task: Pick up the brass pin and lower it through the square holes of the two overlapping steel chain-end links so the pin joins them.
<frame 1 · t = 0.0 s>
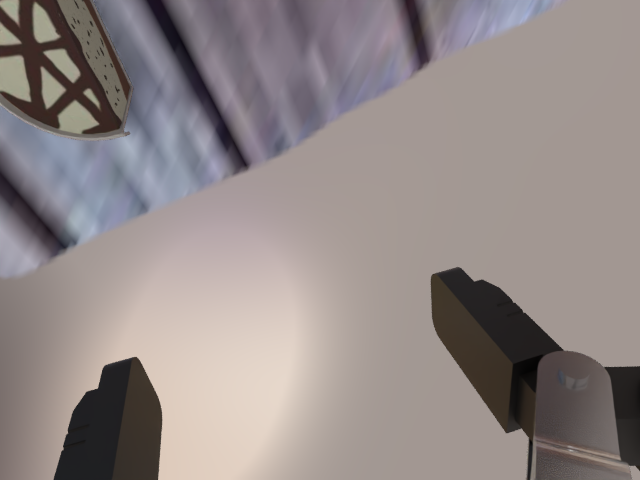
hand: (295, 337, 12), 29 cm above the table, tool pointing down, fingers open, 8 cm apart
food container: (61, 35, 33), on the table
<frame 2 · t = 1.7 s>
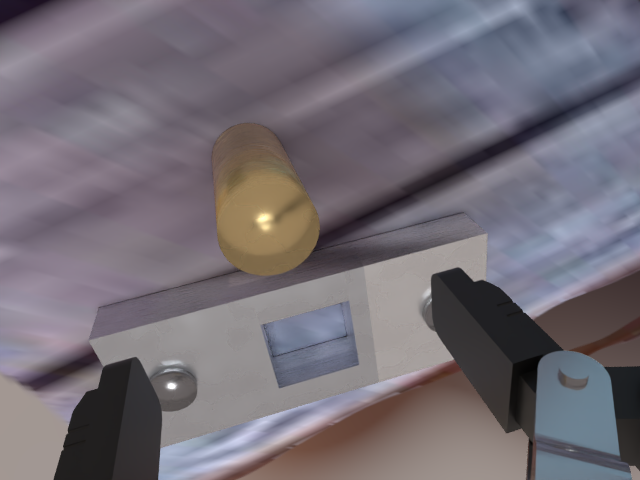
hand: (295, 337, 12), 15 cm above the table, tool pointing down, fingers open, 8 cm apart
chain ends: (303, 317, 32), on the table
brass pin: (248, 158, 25), on the table
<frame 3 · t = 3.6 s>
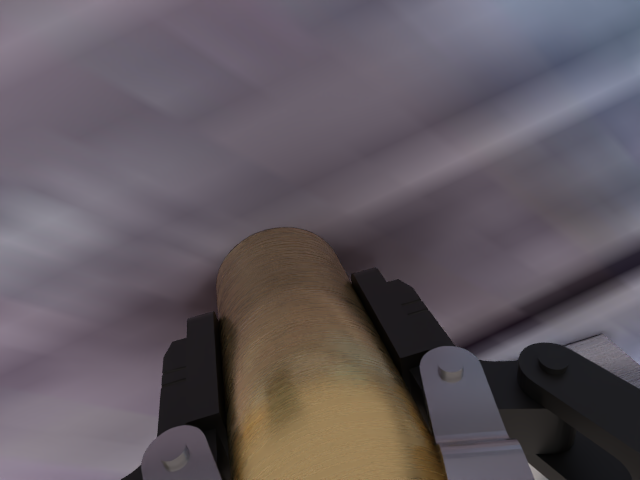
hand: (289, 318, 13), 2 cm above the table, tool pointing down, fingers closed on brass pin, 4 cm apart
brass pin: (280, 283, 15), on the table, touching gripper
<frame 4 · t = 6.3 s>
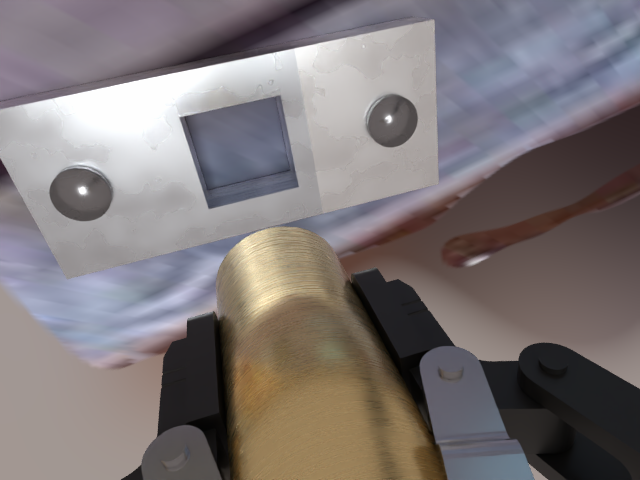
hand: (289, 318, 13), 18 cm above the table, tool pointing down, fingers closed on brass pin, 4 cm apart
chain ends: (238, 139, 29), on the table
brass pin: (280, 282, 14), point 17 cm above the table, touching gripper
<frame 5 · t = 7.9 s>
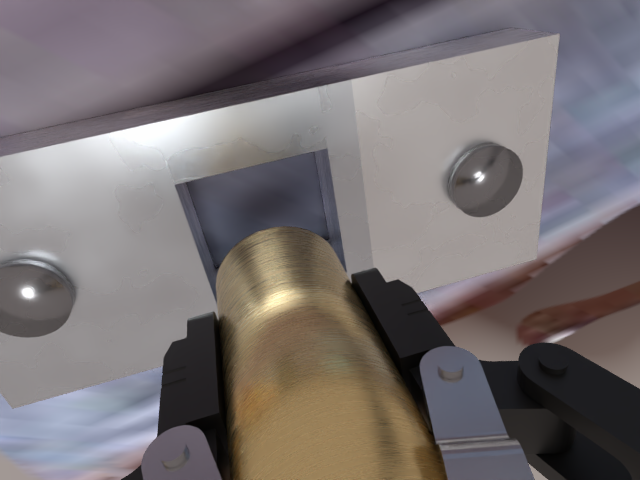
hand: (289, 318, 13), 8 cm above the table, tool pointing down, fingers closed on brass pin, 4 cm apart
chain ends: (260, 201, 20), on the table
brass pin: (280, 282, 14), point 7 cm above the table, touching gripper
when the fingers open (4 cm above the table, at t = 9.2 s): brass pin drops 2 cm, resting in chain ends.
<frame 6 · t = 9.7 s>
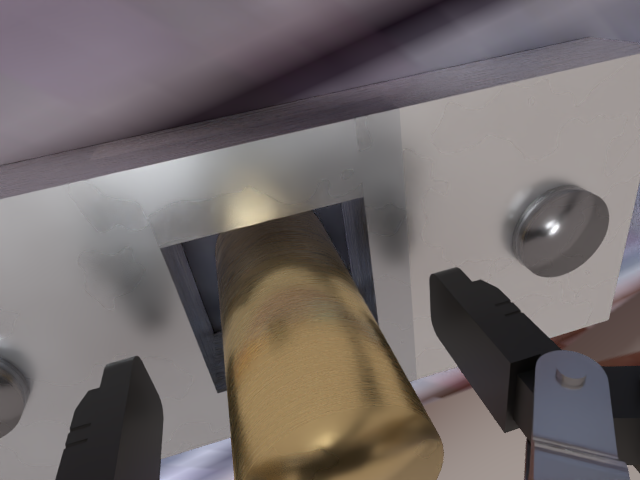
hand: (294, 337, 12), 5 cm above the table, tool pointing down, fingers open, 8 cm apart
chain ends: (270, 253, 16), on the table
brass pin: (272, 251, 16), resting in chain ends
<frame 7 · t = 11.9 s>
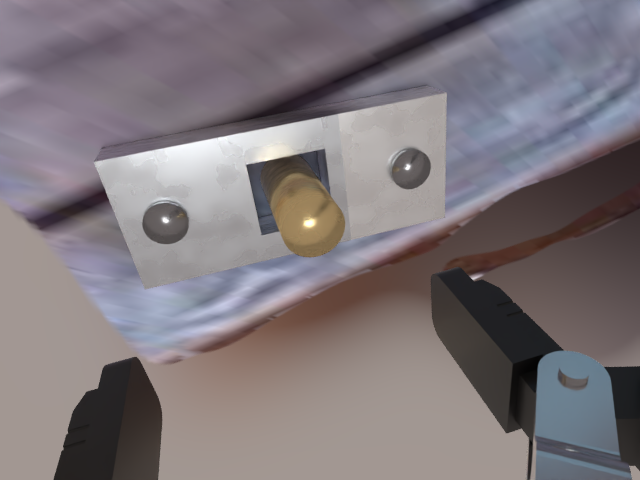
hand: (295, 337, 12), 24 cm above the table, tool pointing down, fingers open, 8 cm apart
chain ends: (285, 178, 35), on the table
brass pin: (286, 177, 35), resting in chain ends
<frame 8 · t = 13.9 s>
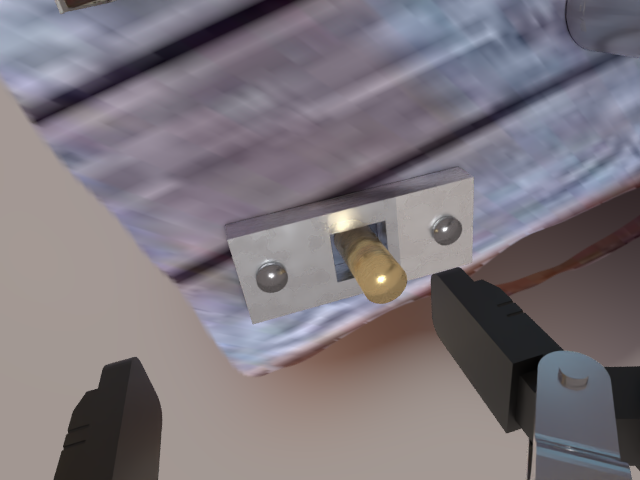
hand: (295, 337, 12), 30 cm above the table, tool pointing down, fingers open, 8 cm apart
chain ends: (351, 238, 47), on the table
brass pin: (352, 237, 47), resting in chain ends
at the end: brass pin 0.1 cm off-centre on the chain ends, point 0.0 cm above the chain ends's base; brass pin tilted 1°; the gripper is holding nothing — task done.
